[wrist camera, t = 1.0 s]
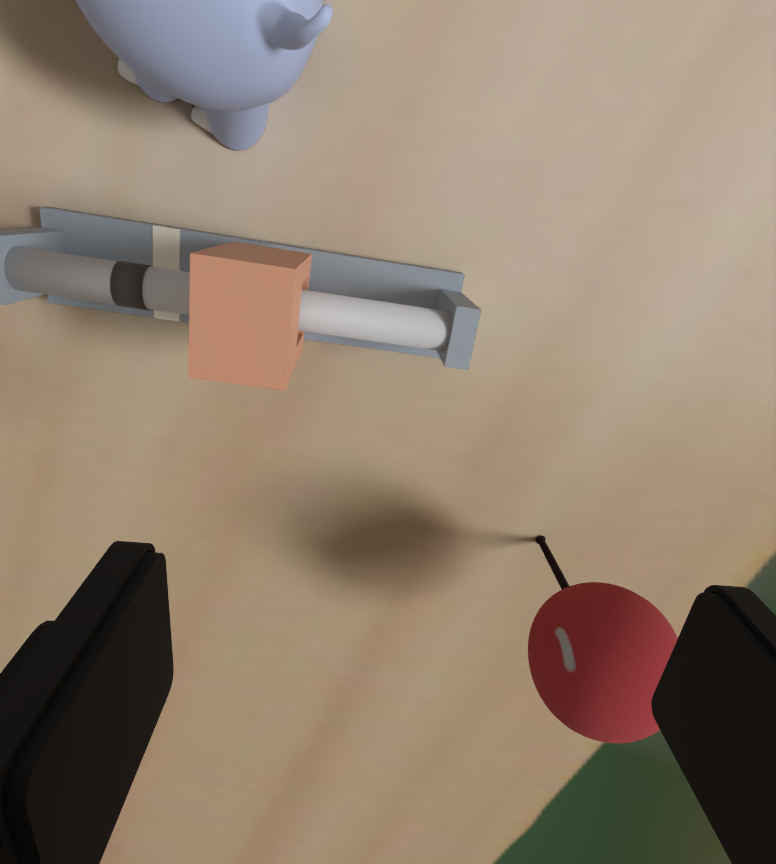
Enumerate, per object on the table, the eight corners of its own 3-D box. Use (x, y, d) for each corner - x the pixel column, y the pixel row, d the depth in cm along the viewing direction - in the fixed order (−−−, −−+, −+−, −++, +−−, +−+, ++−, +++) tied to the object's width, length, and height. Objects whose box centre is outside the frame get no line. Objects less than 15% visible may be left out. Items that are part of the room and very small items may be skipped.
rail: (445, 354, 33) (464, 388, 27) (57, 299, 31) (-19, 322, 25) (461, 272, 31) (486, 288, 25) (49, 207, 29) (-35, 206, 23)
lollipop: (598, 491, 37) (736, 658, 24) (582, 580, 40) (696, 773, 27) (491, 493, 37) (567, 663, 23) (482, 582, 40) (545, 779, 26)
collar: (303, 347, 29) (284, 390, 23) (229, 337, 29) (188, 377, 22) (312, 253, 28) (295, 269, 21) (233, 241, 27) (190, 253, 20)
